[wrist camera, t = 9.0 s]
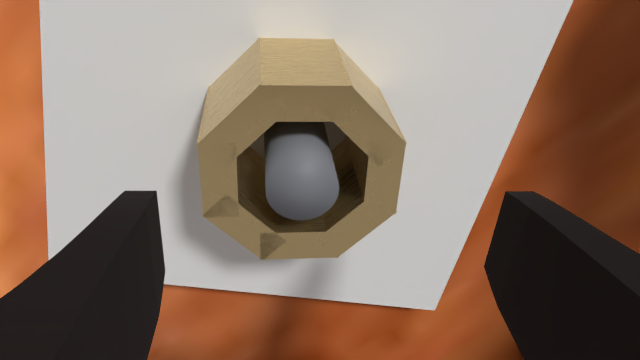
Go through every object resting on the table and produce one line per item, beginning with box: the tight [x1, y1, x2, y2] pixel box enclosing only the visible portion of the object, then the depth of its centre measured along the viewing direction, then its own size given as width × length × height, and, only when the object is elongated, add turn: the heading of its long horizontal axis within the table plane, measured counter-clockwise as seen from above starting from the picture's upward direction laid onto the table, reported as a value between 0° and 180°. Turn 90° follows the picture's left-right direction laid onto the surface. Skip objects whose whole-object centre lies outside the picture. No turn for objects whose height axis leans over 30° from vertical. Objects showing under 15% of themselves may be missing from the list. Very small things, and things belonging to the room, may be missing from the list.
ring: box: [196, 37, 407, 260], centre depth 17 cm, size 6×6×4 cm
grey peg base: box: [39, 0, 573, 310], centre depth 17 cm, size 16×16×6 cm
